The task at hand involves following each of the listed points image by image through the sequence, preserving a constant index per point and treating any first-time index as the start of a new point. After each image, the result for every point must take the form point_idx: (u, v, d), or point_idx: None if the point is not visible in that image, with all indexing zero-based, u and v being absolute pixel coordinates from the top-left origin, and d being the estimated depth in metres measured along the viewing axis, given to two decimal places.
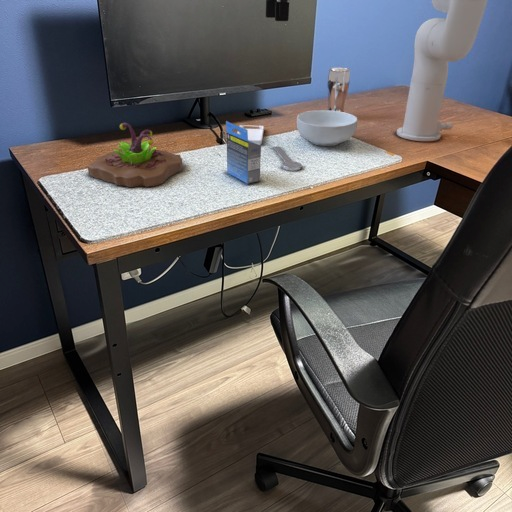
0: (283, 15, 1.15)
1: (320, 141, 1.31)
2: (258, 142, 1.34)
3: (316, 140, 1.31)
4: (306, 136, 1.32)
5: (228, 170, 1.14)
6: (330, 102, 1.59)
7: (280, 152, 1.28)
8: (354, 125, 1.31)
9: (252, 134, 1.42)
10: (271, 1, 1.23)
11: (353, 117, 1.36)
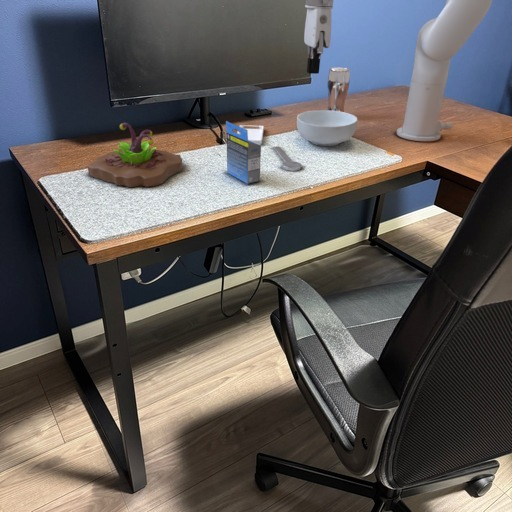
0: (315, 69, 1.40)
1: (320, 141, 1.31)
2: (258, 142, 1.34)
3: (316, 140, 1.31)
4: (306, 136, 1.32)
5: (228, 170, 1.14)
6: (330, 102, 1.59)
7: (280, 152, 1.28)
8: (354, 125, 1.31)
9: (252, 134, 1.42)
10: None
11: (353, 117, 1.36)
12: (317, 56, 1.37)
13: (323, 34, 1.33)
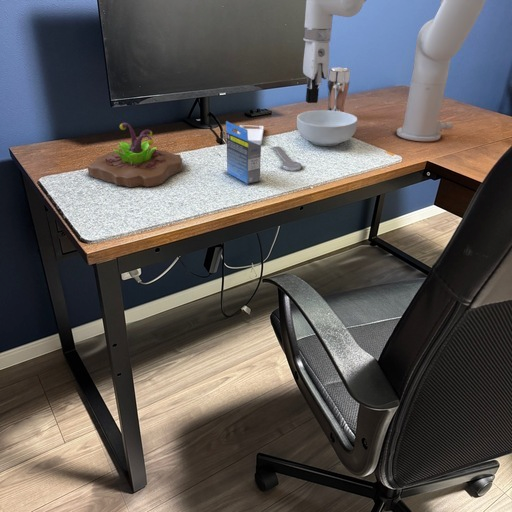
0: (313, 99, 1.44)
1: (320, 141, 1.31)
2: (258, 142, 1.34)
3: (316, 140, 1.31)
4: (306, 136, 1.32)
5: (228, 170, 1.14)
6: (330, 102, 1.59)
7: (280, 152, 1.28)
8: (354, 125, 1.31)
9: (252, 134, 1.42)
10: None
11: (353, 117, 1.36)
12: (316, 87, 1.41)
13: (321, 66, 1.36)
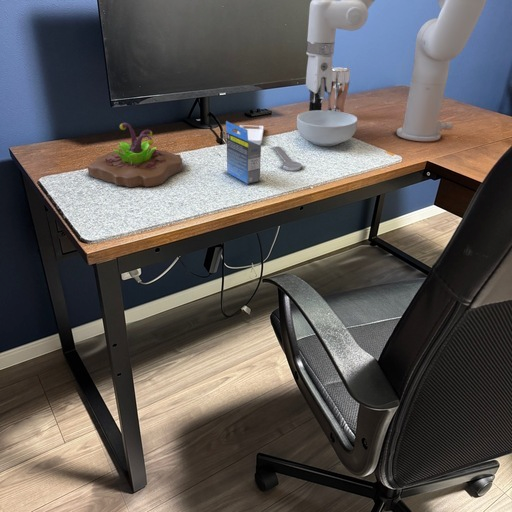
0: None
1: (320, 141, 1.31)
2: (258, 142, 1.34)
3: (316, 140, 1.31)
4: (306, 136, 1.32)
5: (228, 170, 1.14)
6: (330, 102, 1.59)
7: (280, 152, 1.28)
8: (354, 125, 1.31)
9: (252, 134, 1.42)
10: None
11: (353, 117, 1.36)
12: (319, 100, 1.40)
13: (324, 80, 1.35)
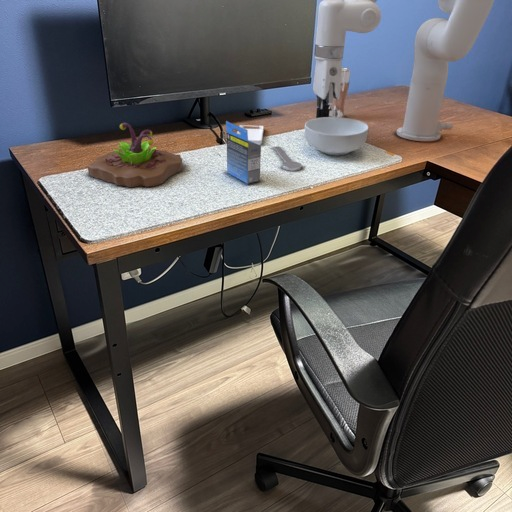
0: None
1: (331, 150, 1.24)
2: (258, 142, 1.34)
3: (326, 149, 1.24)
4: (315, 145, 1.25)
5: (228, 170, 1.14)
6: None
7: (280, 152, 1.28)
8: (366, 133, 1.24)
9: (252, 134, 1.42)
10: None
11: (363, 124, 1.30)
12: (326, 106, 1.33)
13: (333, 86, 1.28)
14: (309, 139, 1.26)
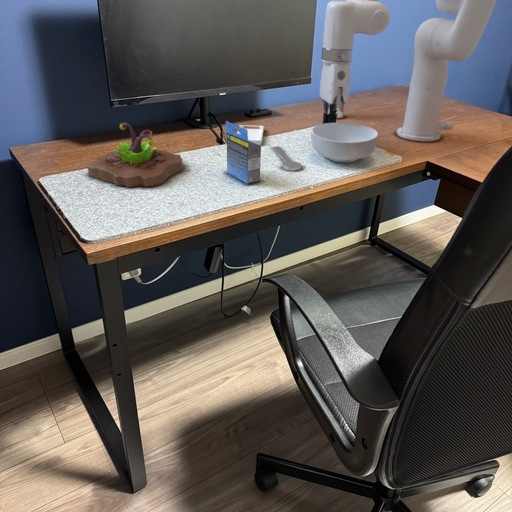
0: None
1: (339, 158, 1.19)
2: (258, 142, 1.34)
3: (334, 157, 1.19)
4: (323, 152, 1.20)
5: (228, 170, 1.14)
6: None
7: (280, 152, 1.28)
8: (375, 140, 1.20)
9: (252, 134, 1.42)
10: None
11: (372, 130, 1.25)
12: (334, 112, 1.28)
13: (341, 90, 1.24)
14: (316, 146, 1.21)
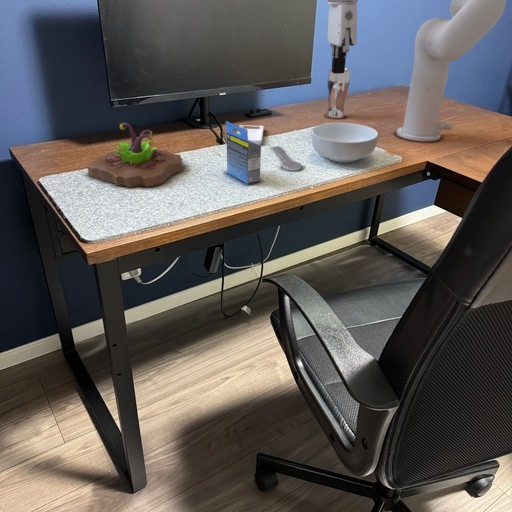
0: (340, 68, 1.32)
1: (339, 158, 1.19)
2: (258, 142, 1.34)
3: (334, 157, 1.19)
4: (323, 152, 1.20)
5: (228, 170, 1.14)
6: (330, 102, 1.59)
7: (280, 152, 1.28)
8: (375, 140, 1.20)
9: (252, 134, 1.42)
10: None
11: (372, 130, 1.25)
12: (342, 55, 1.29)
13: (349, 31, 1.25)
14: (316, 146, 1.21)
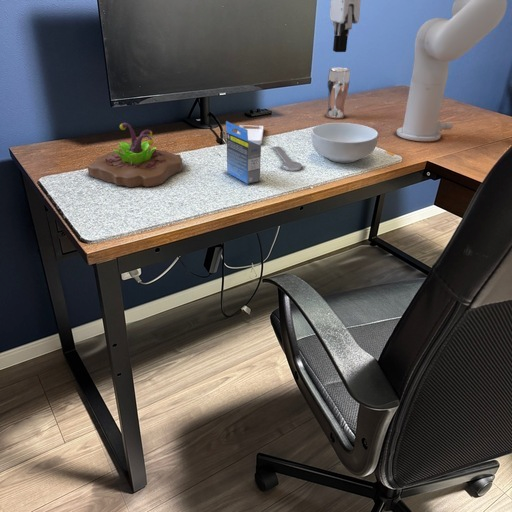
0: (342, 47, 1.30)
1: (339, 158, 1.19)
2: (258, 142, 1.34)
3: (334, 157, 1.19)
4: (323, 152, 1.20)
5: (228, 170, 1.14)
6: (330, 102, 1.59)
7: (280, 152, 1.28)
8: (375, 140, 1.20)
9: (252, 134, 1.42)
10: None
11: (372, 130, 1.25)
12: (345, 33, 1.28)
13: (352, 8, 1.23)
14: (316, 146, 1.21)
